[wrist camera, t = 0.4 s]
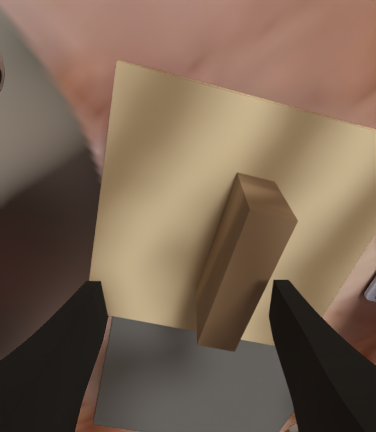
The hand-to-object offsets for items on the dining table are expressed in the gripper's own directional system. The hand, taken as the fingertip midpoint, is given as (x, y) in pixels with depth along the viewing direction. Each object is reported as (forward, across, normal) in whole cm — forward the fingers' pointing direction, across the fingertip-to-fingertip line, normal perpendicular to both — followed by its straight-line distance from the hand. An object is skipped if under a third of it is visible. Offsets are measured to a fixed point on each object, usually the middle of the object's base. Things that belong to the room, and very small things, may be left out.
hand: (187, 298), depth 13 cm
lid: (+6, -2, 0) cm, 6 cm away
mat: (+10, -1, +21) cm, 23 cm away
